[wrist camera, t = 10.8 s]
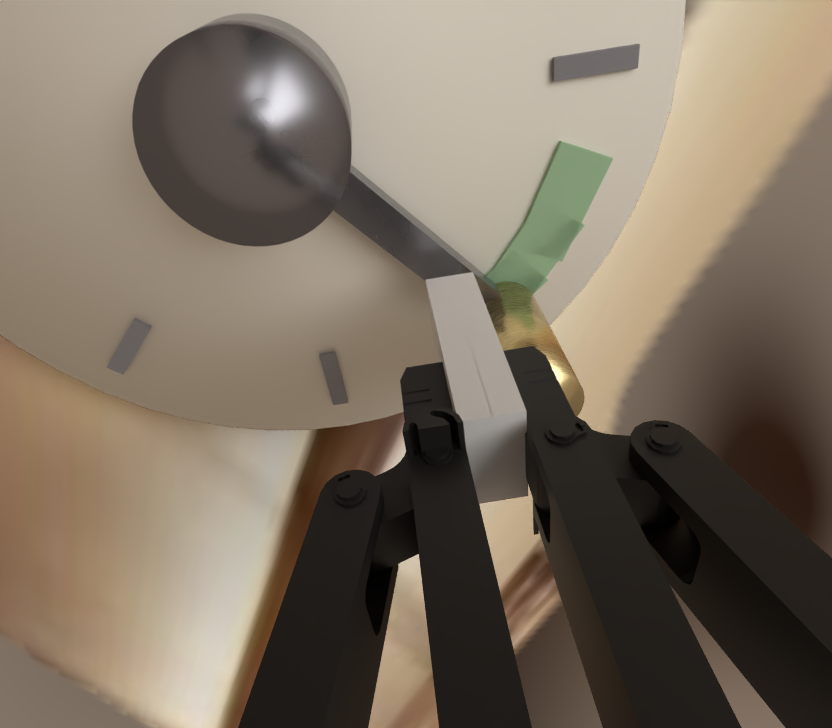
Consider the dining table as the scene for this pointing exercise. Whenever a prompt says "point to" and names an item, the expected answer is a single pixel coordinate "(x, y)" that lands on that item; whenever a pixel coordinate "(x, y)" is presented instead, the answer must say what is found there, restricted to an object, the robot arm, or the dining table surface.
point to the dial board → (335, 237)
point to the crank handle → (290, 161)
